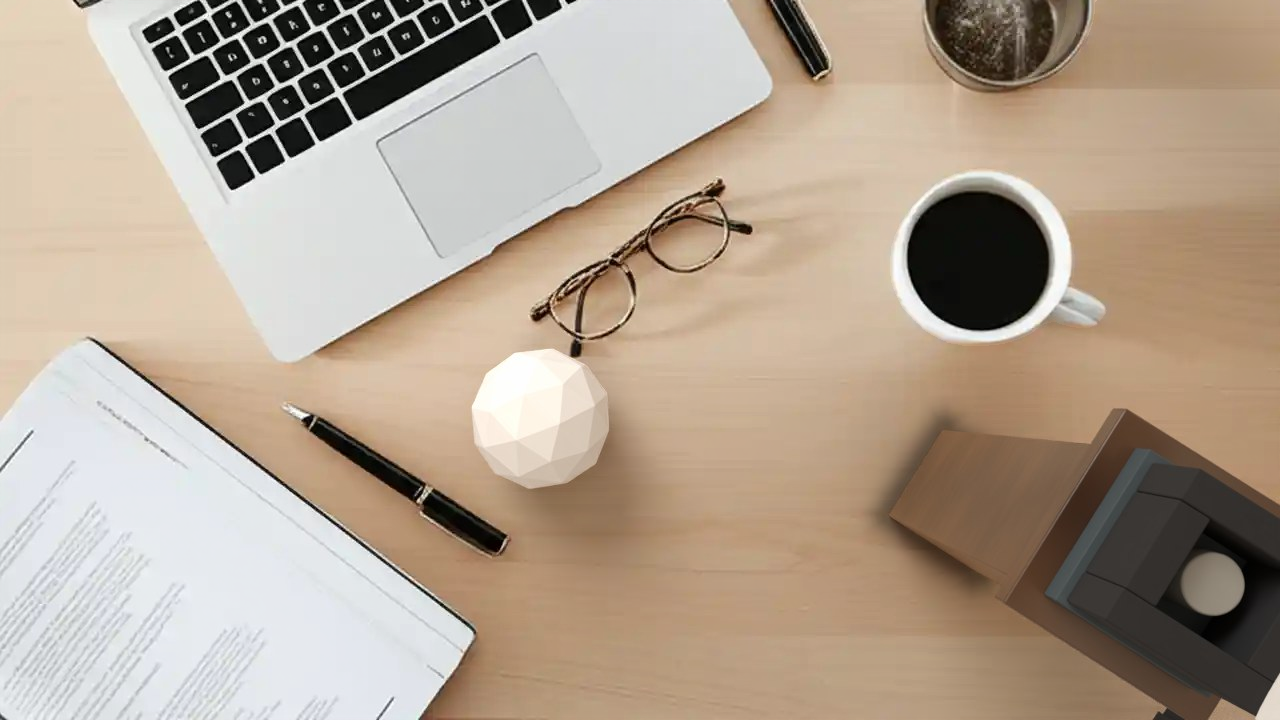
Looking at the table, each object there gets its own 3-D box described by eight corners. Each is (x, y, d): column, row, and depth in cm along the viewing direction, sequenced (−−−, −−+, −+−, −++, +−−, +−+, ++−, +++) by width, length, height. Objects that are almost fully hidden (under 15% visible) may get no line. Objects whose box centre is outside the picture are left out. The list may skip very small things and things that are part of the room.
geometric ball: (559, 383, 71) (603, 314, 65) (599, 500, 68) (649, 440, 62) (442, 398, 67) (476, 327, 61) (478, 523, 64) (518, 461, 58)
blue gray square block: (1135, 447, 40) (1181, 451, 36) (1285, 542, 39) (1347, 555, 36) (1043, 594, 40) (1080, 613, 36) (1192, 689, 39) (1245, 718, 36)
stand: (937, 406, 68) (1125, 407, 40) (1053, 479, 67) (1325, 533, 39) (864, 520, 68) (1002, 602, 40) (980, 594, 67) (1202, 730, 39)
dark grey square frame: (1152, 461, 38) (1199, 467, 35) (1294, 551, 38) (1355, 565, 35) (1065, 600, 38) (1103, 619, 35) (1207, 690, 38) (1259, 718, 35)
